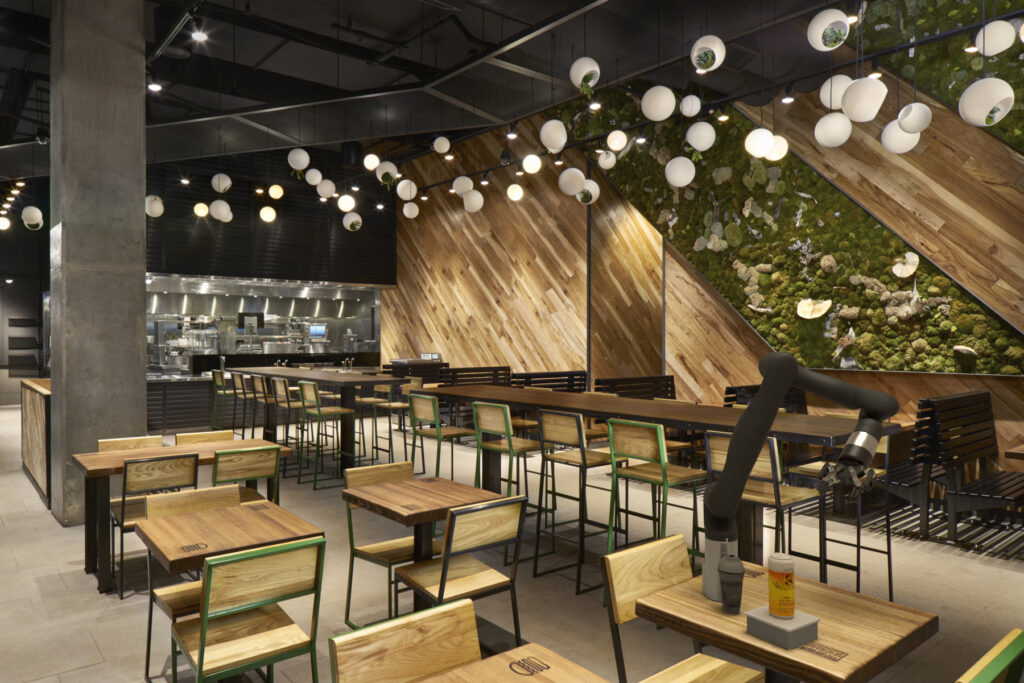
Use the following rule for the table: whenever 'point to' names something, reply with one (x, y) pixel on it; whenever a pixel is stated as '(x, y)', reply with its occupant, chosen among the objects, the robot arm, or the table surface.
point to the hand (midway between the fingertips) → (836, 497)
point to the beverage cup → (731, 582)
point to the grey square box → (782, 627)
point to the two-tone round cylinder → (781, 585)
